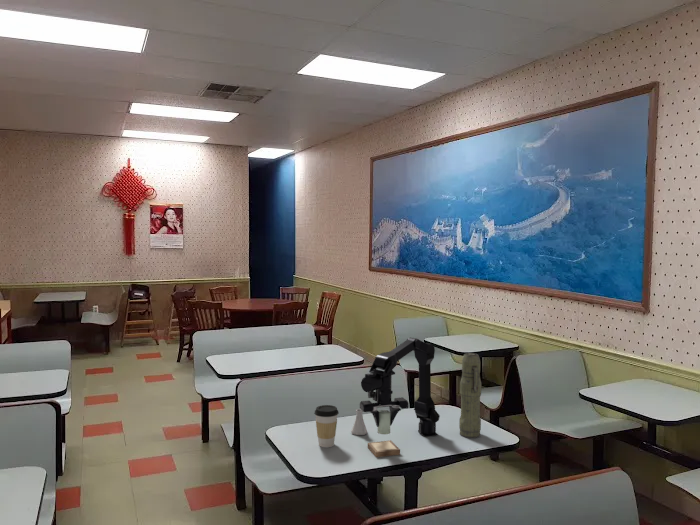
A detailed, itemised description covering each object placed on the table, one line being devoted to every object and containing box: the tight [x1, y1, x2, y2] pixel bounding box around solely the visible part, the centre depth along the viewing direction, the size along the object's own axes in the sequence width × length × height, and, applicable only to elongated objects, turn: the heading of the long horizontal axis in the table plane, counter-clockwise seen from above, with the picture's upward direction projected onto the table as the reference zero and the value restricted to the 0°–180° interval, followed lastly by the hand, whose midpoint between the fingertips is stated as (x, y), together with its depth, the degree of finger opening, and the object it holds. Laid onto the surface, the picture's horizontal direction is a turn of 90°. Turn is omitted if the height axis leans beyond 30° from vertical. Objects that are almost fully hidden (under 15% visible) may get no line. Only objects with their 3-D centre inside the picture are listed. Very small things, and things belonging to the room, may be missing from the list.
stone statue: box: [458, 352, 482, 439], centre depth 241 cm, size 9×12×35 cm
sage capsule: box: [377, 409, 391, 435], centre depth 222 cm, size 5×5×8 cm
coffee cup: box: [313, 404, 339, 448], centre depth 229 cm, size 10×10×15 cm
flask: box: [350, 408, 368, 436], centre depth 243 cm, size 7×7×10 cm
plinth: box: [367, 439, 401, 458], centre depth 223 cm, size 10×10×2 cm
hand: (383, 425), depth 223 cm, fingers closed on sage capsule, 5 cm apart
